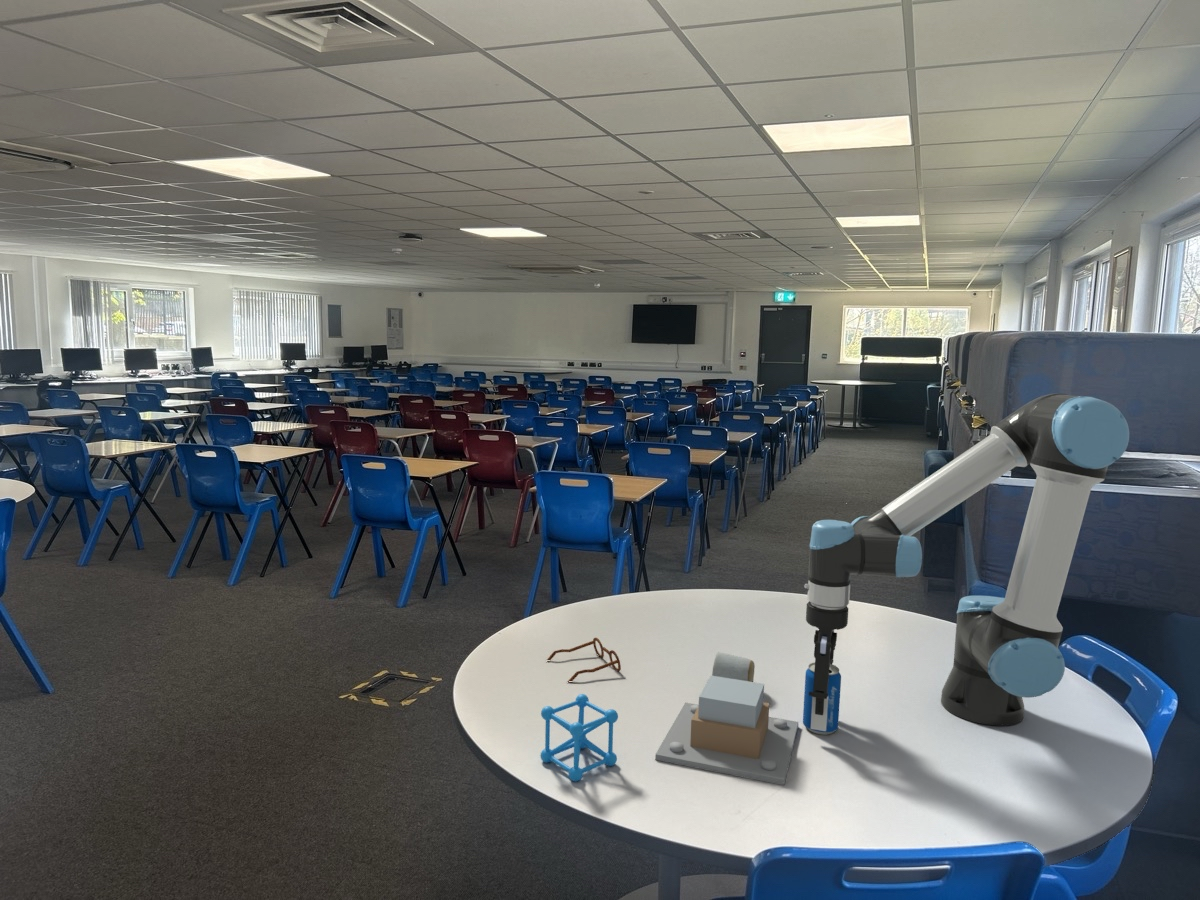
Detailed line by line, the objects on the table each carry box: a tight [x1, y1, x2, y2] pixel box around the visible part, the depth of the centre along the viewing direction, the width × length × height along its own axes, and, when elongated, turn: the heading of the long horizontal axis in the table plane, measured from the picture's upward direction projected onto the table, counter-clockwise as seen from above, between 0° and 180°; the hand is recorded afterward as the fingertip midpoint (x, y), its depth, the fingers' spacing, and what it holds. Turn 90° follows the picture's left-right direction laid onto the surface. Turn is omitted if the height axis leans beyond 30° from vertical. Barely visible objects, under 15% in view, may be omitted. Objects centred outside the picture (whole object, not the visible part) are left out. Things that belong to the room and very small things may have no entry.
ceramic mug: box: [711, 651, 756, 682], centre depth 169 cm, size 11×8×8 cm
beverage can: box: [802, 661, 842, 735], centre depth 151 cm, size 6×6×12 cm
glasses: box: [546, 637, 622, 682], centre depth 178 cm, size 13×13×5 cm
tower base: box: [655, 675, 799, 786], centre depth 145 cm, size 22×22×10 cm
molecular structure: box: [539, 693, 619, 782], centre depth 137 cm, size 10×10×10 cm
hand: (820, 716), depth 152 cm, fingers open, 11 cm apart
